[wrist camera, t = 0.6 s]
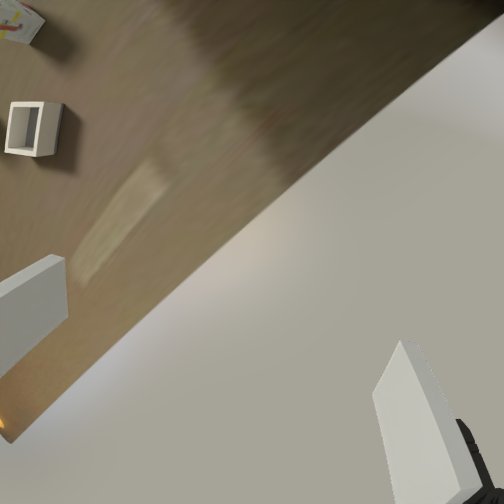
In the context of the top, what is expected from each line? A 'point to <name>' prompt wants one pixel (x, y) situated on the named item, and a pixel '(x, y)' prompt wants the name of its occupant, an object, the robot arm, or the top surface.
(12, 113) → the white square open box
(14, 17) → the ink box
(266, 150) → the top surface
